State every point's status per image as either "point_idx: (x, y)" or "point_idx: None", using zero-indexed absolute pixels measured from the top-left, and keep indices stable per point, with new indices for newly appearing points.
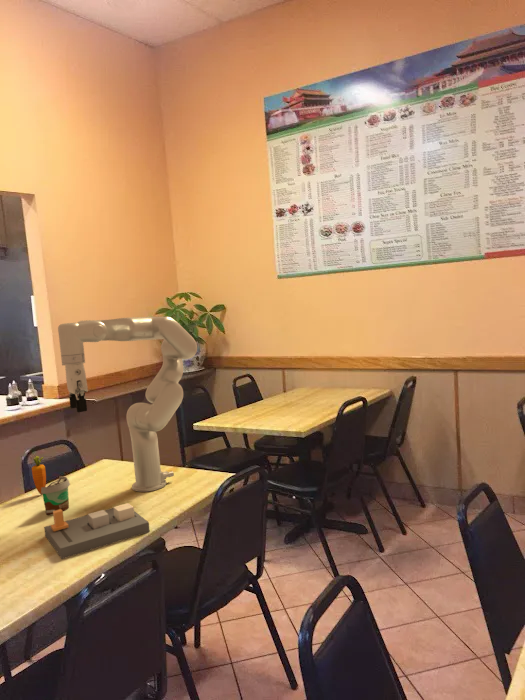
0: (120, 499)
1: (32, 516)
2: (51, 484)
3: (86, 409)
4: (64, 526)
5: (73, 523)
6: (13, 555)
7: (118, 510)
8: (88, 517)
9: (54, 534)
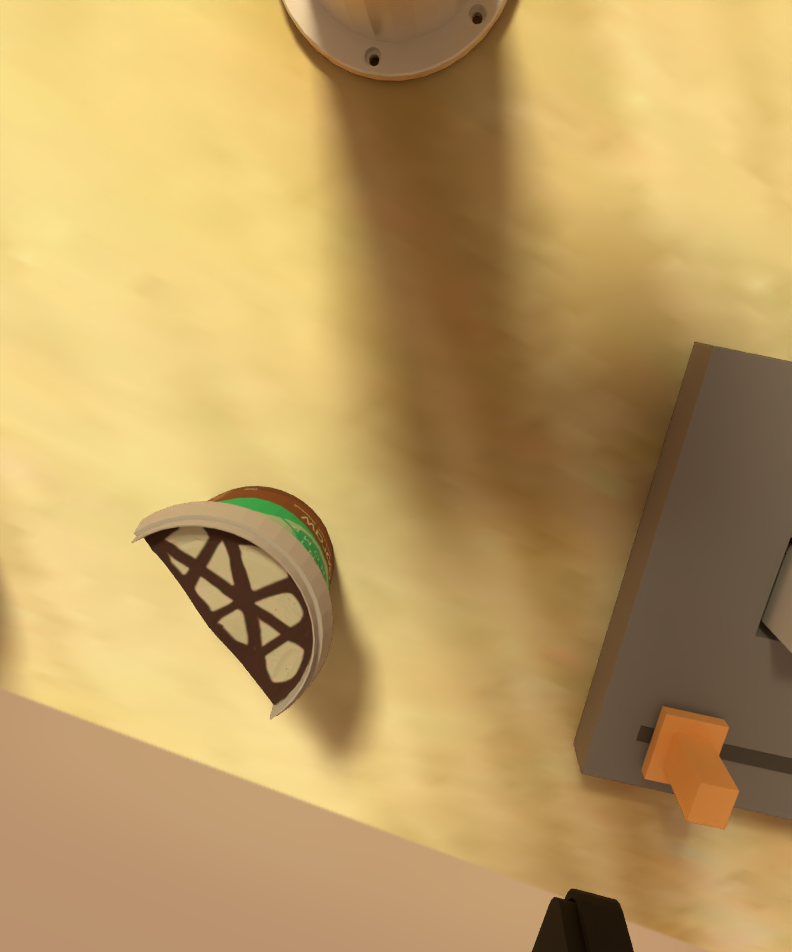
0: (448, 235)
1: None
2: (233, 634)
3: (619, 931)
4: (721, 743)
5: (684, 673)
6: (642, 898)
7: None
8: (786, 645)
9: None
